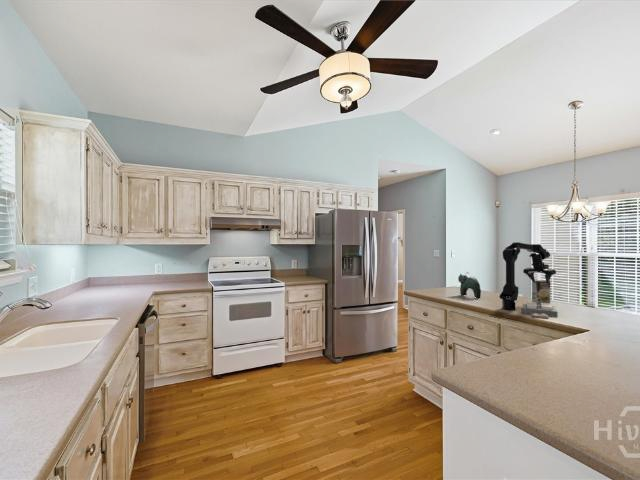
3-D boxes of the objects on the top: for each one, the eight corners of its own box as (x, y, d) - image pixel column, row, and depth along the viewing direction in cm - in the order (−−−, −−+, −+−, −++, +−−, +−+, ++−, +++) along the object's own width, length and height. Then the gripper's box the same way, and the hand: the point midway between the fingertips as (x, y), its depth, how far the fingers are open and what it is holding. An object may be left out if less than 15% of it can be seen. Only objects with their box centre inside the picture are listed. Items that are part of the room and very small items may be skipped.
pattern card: (531, 317, 177) (531, 314, 177) (531, 314, 184) (531, 312, 184) (548, 318, 173) (548, 316, 173) (547, 316, 179) (547, 313, 179)
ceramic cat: (457, 295, 253) (457, 271, 253) (464, 294, 255) (463, 271, 255) (476, 299, 234) (476, 273, 234) (483, 298, 236) (482, 273, 236)
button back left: (526, 306, 194) (526, 302, 194) (526, 305, 198) (526, 301, 198) (536, 307, 191) (536, 303, 191) (536, 305, 195) (536, 302, 195)
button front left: (526, 308, 188) (526, 304, 188) (526, 307, 192) (526, 303, 192) (536, 309, 185) (536, 305, 185) (536, 308, 189) (536, 304, 189)
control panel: (522, 313, 187) (522, 308, 187) (522, 307, 202) (522, 303, 202) (557, 316, 177) (557, 311, 177) (555, 311, 192) (555, 306, 192)
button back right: (541, 307, 190) (541, 304, 190) (541, 306, 194) (540, 302, 194) (551, 308, 187) (551, 304, 187) (550, 307, 191) (550, 303, 191)
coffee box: (537, 304, 214) (536, 281, 214) (531, 302, 220) (531, 280, 220) (551, 304, 213) (550, 281, 213) (545, 302, 219) (544, 280, 219)
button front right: (541, 310, 184) (541, 306, 184) (541, 308, 188) (541, 304, 188) (552, 311, 181) (551, 307, 181) (551, 309, 185) (551, 305, 185)
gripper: (559, 259, 205) (562, 281, 206) (530, 258, 222) (534, 278, 223) (549, 263, 200) (552, 286, 202) (521, 262, 218) (524, 282, 219)
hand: (540, 283), depth 211 cm, fingers open, 9 cm apart
